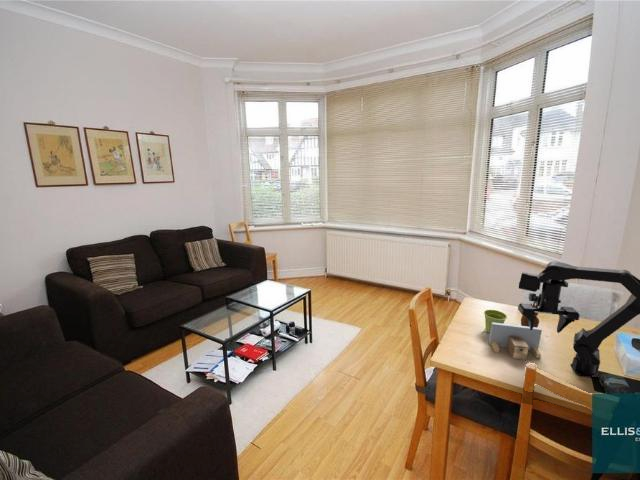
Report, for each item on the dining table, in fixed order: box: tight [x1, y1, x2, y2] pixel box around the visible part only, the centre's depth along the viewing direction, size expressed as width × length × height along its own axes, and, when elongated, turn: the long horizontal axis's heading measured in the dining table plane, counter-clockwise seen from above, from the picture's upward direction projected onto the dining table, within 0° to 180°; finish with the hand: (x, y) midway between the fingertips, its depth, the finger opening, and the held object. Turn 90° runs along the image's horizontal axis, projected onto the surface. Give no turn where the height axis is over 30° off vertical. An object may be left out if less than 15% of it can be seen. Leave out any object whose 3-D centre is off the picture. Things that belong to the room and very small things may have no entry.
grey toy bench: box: [488, 322, 542, 359], centre depth 126 cm, size 18×6×10 cm, turn 74°
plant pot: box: [483, 309, 508, 334], centre depth 141 cm, size 9×9×9 cm
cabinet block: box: [506, 336, 529, 361], centre depth 124 cm, size 5×7×6 cm
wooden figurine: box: [520, 302, 540, 328], centre depth 140 cm, size 7×6×15 cm
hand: (544, 331), depth 120 cm, fingers open, 9 cm apart
